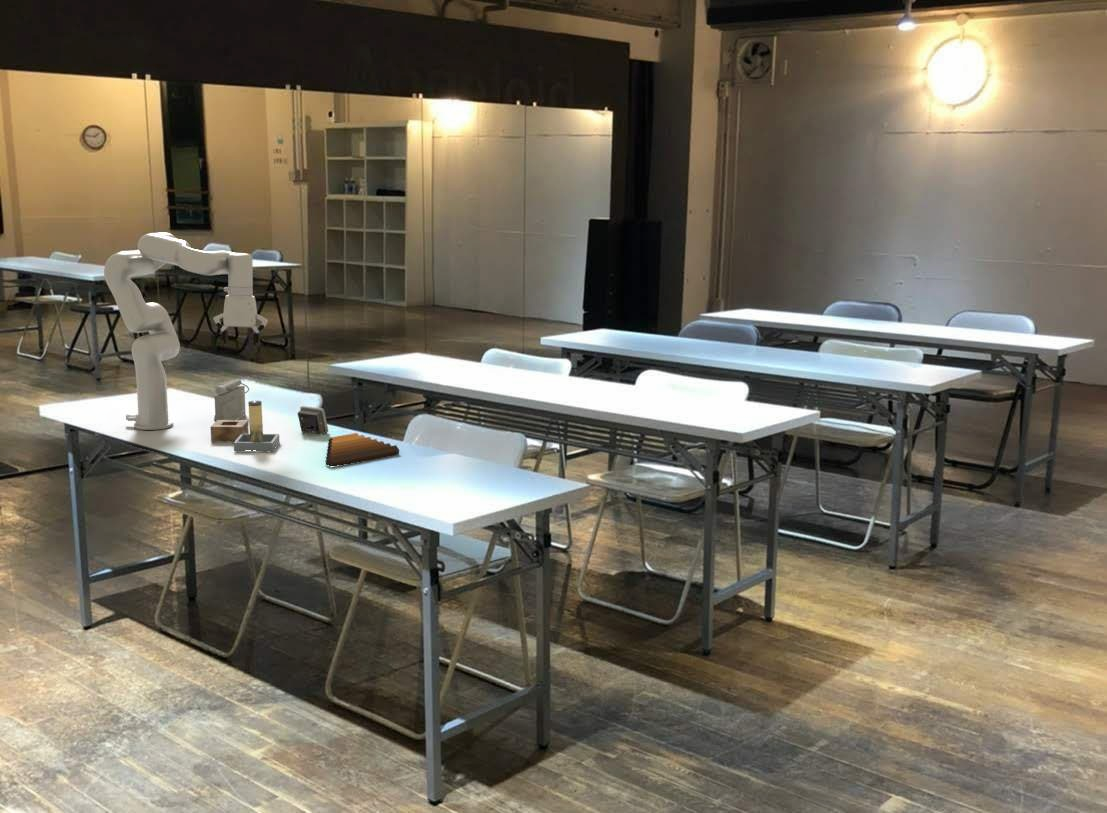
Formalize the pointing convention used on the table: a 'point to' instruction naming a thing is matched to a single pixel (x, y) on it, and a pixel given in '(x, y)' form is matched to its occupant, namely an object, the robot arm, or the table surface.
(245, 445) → the parts tray
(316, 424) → the electrical switch
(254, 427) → the brass pin
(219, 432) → the brown square frame
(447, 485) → the table surface
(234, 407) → the geiger counter
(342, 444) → the pan flute
